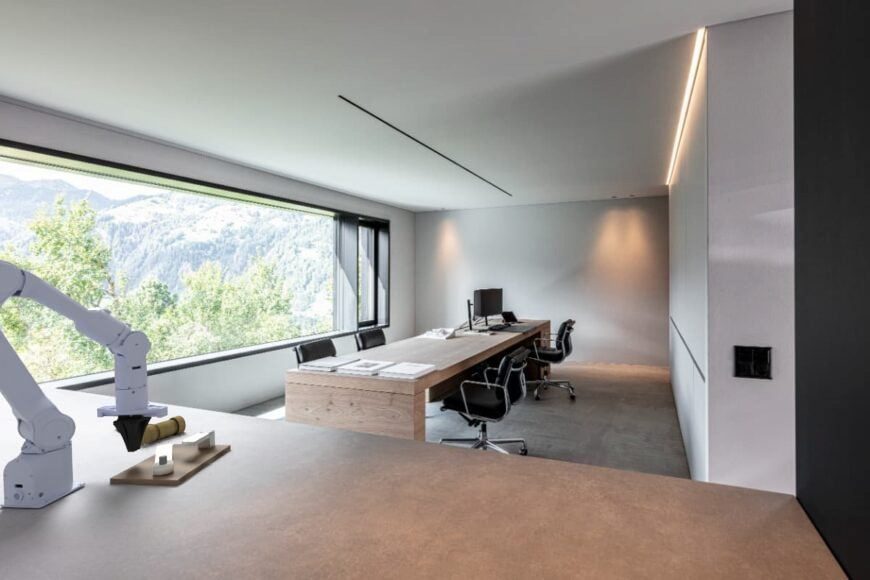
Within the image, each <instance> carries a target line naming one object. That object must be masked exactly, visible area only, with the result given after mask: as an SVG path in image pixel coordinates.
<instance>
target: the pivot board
mask: <svg viewBox="0 0 870 580" xmlns="http://www.w3.org/2000/svg"><path fill="white" fill-rule="evenodd" d="M172 449H173V453H172V461H173V462H174V470H173V471H172V472H170V473H168V474H164V475H153V464H155V457H156V453H155V454H153V455H151V456H149V457H147V458H146V459H144V460H142V461H140V462H137V463H136V464H133V466H130V467H129V468H126V469H125V470H123V471H121V472H119V473H117V474H116V475H114V476H112V477H109V484H112V485H113V484H114V485H115V484H116V485H118V484H119V485H120V484H121V485H153V486H157V485H158V486H179V485H180V484H182V483H183V482H184V481H186V480H187V479H189V478H191V477H192V476H193V475H196V473H198V472H199V471H201V470H202V469H203V468H206V467H207V466H208V465H210V464H211V463H213V462H214V461H216V460H217V459H218V458H220V457H222V456H223V455H225V454H226V453H227V452H229V451H231V444H215V446H214V447H212V448H210V449H202V448H198V444H197V445H196V446H182V443H172Z"/></svg>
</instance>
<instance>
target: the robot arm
mask: <svg viewBox="0 0 870 580" xmlns="http://www.w3.org/2000/svg"><path fill="white" fill-rule="evenodd" d="M10 297H12V298H20V299H21V298H22V299H29V300H32V301H35V302H36V303H38V304H40V305H42V306H44V307H46V308H48V309H49V310H51V311H53V312H55V313H57V314H59V315H61V316H63V317H65V318H67V319H69V320H71V321H73V322H74V327H75V331H76V332H77V333H79V334H81V335H82V336H85V337H86V338H89V339H90V340H92V341H93V342H95V343H97V344H99V345H100V346H103V347H105V348H108V351H109V353H111V354H112V355H113V358H114V359H113V360H114V361H113V362H114V366H113V367H114V369H113V371H114V394H115V396H114V397H115V405H103V406H100V407H98V408H96V415H97V416H96V417H97V418H104V417H117V419H116V420H114V421H112V425H113V426H114V428H115V427H116V428H115V429H116V430H117V432H118V433H119V435H120V436H121V438H122V440H123V442H124V445H125V448H126V450H127V453H135V452H137V451H138V450H141V447H142V444H143V443H142V439H143V435H144V432H145V430H146V427H147V425H148V424H150V421H151V419H152V418H153V417H155V418H157V419H162V418H164V417H167V416H168V415H169V414H168V412H169V411H168V405H167V406H166V405H156V404H151V403H150V402H149V391H148V387H149V386H148V367H147V366H148V364H147V355H148V353H149V352H150V350H151V348H152V342H151V341H150V339H149V338H148V335H147V334H146V333H145V332H143V331H140V330H133V329H132V326H133V325H132V324H131V323H130V322H123V321H121V320H120V319H118V318H117V317H115V316H113V315H111V314H112V310H110V309H108V308H101V307H91V308H87V307H85V306H84V305H82V304H80V303H79V302H78V301H77V300H75V299H74V298H72V297H70V296H68V295H67V294H65V293H64V292H63V291H61V290H60V289H58V288H56V287H54V286H53V285H52V284H50V283H49V282H47V281H45V280H44V279H43V278H40V276H37V275H36V274H34V273H33V272H30V271H28V270H26V269H23V268H19V267H18V265H16V264H14V263H12V262H10V261H8V260H5V259H0V309H1V308H2V307H3V304H4V303H5V302H6V301H7V300H8V299H9V298H10ZM0 393H1V394H0V395H2V396H3V398H4V399H5V401H6V402H7V404H8V405H9V406H10V408H11V410H12V414H13V416H14V417H15V419H16V421H17V432H18V435H19V436H20V437H22V439H24V440H25V441H24V442H23V444H22V446H21V448H20V453H19V455H18V456H16V457H15V458H13V459H12V460H10V461H8V462H7V463H6V464H5V466H4V469H3V472H2V473H3V475H2V477H3V502H1V503H0V507H1V508H21V509H22V508H24V509H26V508H27V509H40V508H43V507H45V506H48V505H49V504H51V503H53V502H55V501H57V500H59V499H61V498H63V497H64V496H66V495H69V494H70V493H72V492H74V491H76V490H78V489H80V488H82V487H84V486H86V482H85V481H74V470H73V468H74V467H73V436H74V435H75V433H76V426H77V425H76V422H75V420H74V419H73V418H72V417H71V416H70V415H68V414H65V413H64V412H61V410H59V408H58V407H57V405H56V404H55V403H54V402H53V401H52V400H51V399H50V398H49V397H48V396H47V395H46V394H45V392H44V391H43V390H42V388H41V387H40V385H39V384H38V383H37V381H36V379H35V378H34V376H33V375H32V373H31V372H30V370H28V367H27V366H26V365H25V364H24V362H23V360H22V359H21V358H20V356H19V355H18V353H17V352H16V350H15V349H14V347H13V345H12V344H11V343H10V341H9V340H8V338H7V337H6V336H5V334H4V333H3V331H2V330H1V329H0Z"/></svg>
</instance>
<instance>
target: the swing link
mask: <svg viewBox="0 0 870 580" xmlns="http://www.w3.org/2000/svg"><path fill="white" fill-rule="evenodd" d="M172 445H173V443H167V444H162V445H157V446H156V449H155V454H156V457H155V464H153V475H164V474H168V473H170V472H172V471H173V470H174V462H173V461H172V453H173V449H172Z"/></svg>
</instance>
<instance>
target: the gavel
mask: <svg viewBox="0 0 870 580" xmlns="http://www.w3.org/2000/svg"><path fill="white" fill-rule="evenodd" d="M114 428H115V429H116V427H115V426H114ZM186 428H187V424H186V421H185V419H184V417H183V416H182V415H176V416H173V417H170V418H169V419H167V420H164V421H160V422H157V423H148V425H147V427H146V430H145V432H144V435H143V439H142V443H141V444H143V445H149V444H152V443H156V441H157V440H161V439H163V438H166V437H170V436H173V435H174V433H175V435H179V434H181V432H182V433H184V432H185V430H186ZM178 433H179V434H178Z"/></svg>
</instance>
